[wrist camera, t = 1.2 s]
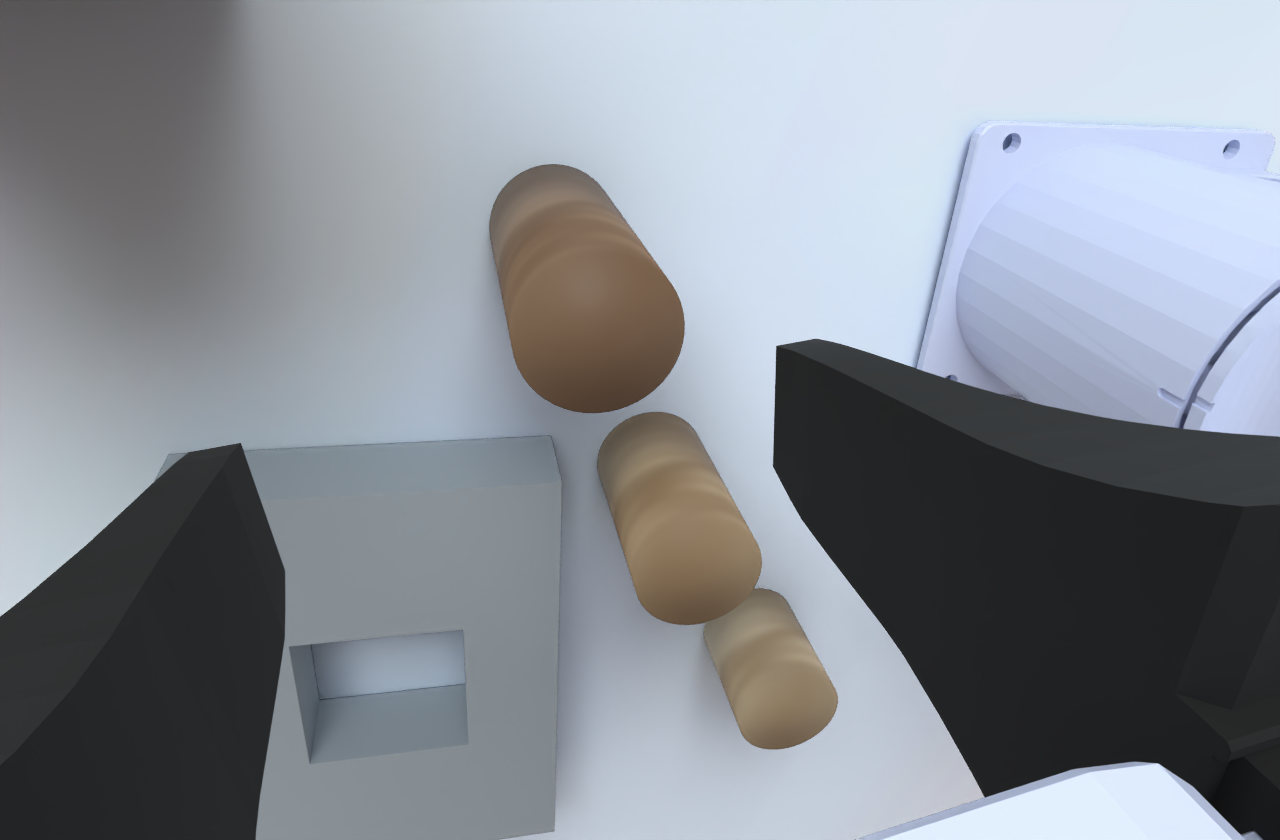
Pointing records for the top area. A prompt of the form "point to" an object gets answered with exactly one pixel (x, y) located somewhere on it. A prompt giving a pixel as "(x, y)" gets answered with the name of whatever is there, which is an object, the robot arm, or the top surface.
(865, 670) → the top surface
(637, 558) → the mid dowel
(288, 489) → the hole board
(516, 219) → the tall dowel
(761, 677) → the short dowel
